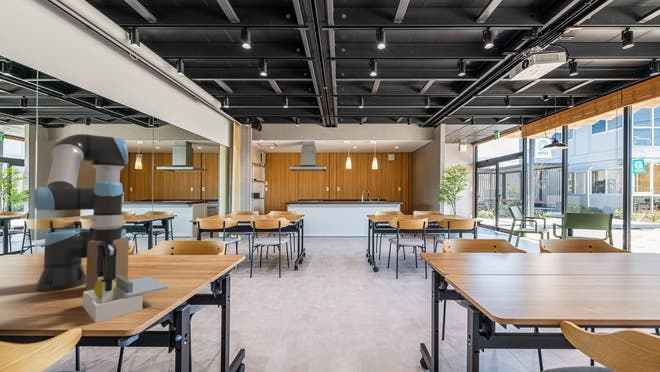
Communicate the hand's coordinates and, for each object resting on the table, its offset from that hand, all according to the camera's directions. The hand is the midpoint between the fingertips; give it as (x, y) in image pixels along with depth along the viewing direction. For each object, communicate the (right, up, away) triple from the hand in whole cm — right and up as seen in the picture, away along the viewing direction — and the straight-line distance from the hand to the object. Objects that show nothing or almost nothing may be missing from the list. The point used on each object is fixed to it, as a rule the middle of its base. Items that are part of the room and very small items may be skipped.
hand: (104, 298), depth 92 cm
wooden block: (-16, -5, +21) cm, 27 cm away
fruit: (0, -1, 0) cm, 1 cm away
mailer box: (+1, -4, +1) cm, 4 cm away
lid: (+6, +1, +8) cm, 10 cm away
